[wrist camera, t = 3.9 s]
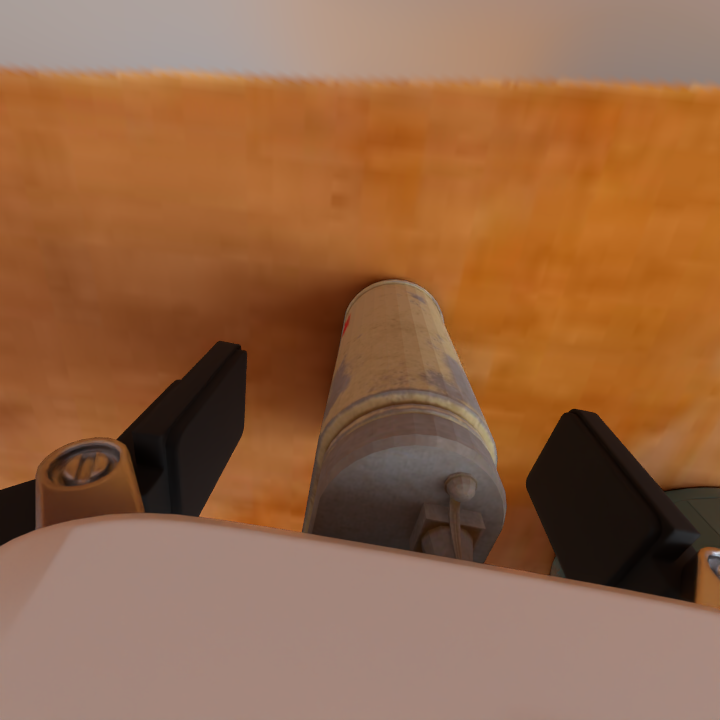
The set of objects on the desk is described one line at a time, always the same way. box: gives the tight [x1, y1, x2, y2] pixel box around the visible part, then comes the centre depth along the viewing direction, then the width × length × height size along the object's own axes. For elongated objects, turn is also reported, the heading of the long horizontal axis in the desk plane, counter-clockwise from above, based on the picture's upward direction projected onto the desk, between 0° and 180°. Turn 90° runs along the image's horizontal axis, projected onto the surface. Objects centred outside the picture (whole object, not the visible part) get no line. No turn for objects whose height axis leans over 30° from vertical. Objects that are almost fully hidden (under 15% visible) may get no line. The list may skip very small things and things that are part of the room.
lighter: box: [302, 279, 507, 564], centre depth 9 cm, size 7×4×10 cm, turn 169°
